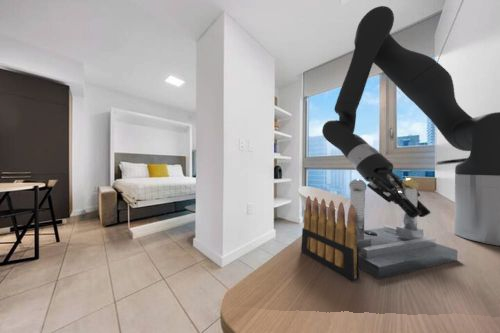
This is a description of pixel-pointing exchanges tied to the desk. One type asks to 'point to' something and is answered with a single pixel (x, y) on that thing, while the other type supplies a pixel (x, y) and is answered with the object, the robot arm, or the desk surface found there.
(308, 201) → the ammunition clip
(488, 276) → the desk surface
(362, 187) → the silver ball-topped post
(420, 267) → the plate
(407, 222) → the gold topped lever
